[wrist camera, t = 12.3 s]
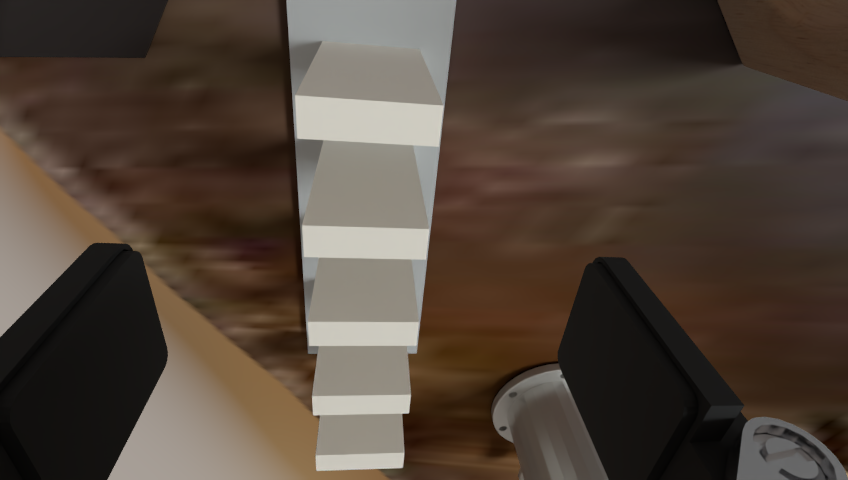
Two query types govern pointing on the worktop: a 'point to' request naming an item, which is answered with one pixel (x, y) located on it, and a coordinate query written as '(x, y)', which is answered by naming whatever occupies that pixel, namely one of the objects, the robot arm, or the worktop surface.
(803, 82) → the wooden block
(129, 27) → the phone stand
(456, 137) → the worktop surface
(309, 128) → the domino
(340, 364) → the domino
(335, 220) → the domino
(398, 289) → the domino
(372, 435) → the domino
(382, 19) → the mat
